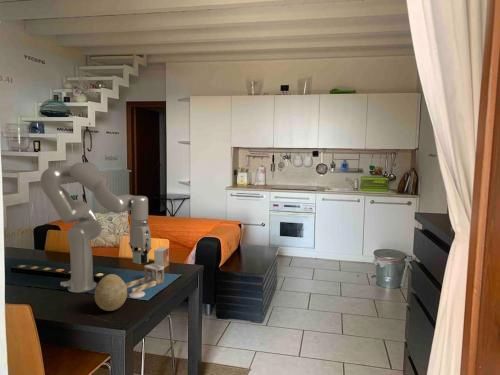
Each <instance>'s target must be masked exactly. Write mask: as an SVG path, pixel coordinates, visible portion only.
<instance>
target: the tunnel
mask: <svg viewBox="0 0 500 375" xmlns="http://www.w3.org/2000/svg"><path fill="white" fill-rule="evenodd" d="M143 267H144V276H143V277H142V278H138V279H134V280H132V281H130V282H126V283H125V285H126V287H127V289H128V288H131V287H133V288H131V292H135V291H144V290H147V289H149V288H153V287H154V286H158V285H161V284H163V283H165V268H164V267H163V266H159V265H156V264H154V262H152V263H149V264H146V265H144V266H143ZM148 270H150V275H148ZM159 271H160V274H161V279H158V274H159V273H158V272H159ZM153 275H155V281H153V282H150V283H147V284H144V285H141V284H139V280H141V279H144V278H147V277H150V276H153ZM160 283H161V284H160ZM157 284H158V285H157ZM137 285H139V286H137ZM134 286H136V287H134Z"/></svg>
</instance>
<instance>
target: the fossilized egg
mask: <svg viewBox="0 0 500 375" xmlns="http://www.w3.org/2000/svg"><path fill="white" fill-rule="evenodd" d="M125 284H126V283H125V281H124V280H123V279H122V278H121V277H120V276H119V275H117V274H114V273H110V274H107V275H105V276H104V277H102V278H101V279H100V280H99V282H97V286H96V287H95V288H94V297H93V298H94V302H95V303H96V305H97V306H98V307H99V309H102V311H107V312H112V311H116V310H118V309H119V308H121V307H122V306H123V305H124V303H125V302H126V300H127V297H128V288H127V287H126V285H125Z"/></svg>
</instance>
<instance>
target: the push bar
mask: <svg viewBox="0 0 500 375" xmlns="http://www.w3.org/2000/svg"><path fill="white" fill-rule="evenodd" d="M149 276H150V275H149ZM143 278H144V277H143ZM140 279H141V278H140ZM158 279H161V273H158ZM153 281H155V274H154V275H153V276H150V277H147V278H144V279H141V280H139V284H138V285H141V284H142V285H144V284H147V283H150V282H153Z"/></svg>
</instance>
